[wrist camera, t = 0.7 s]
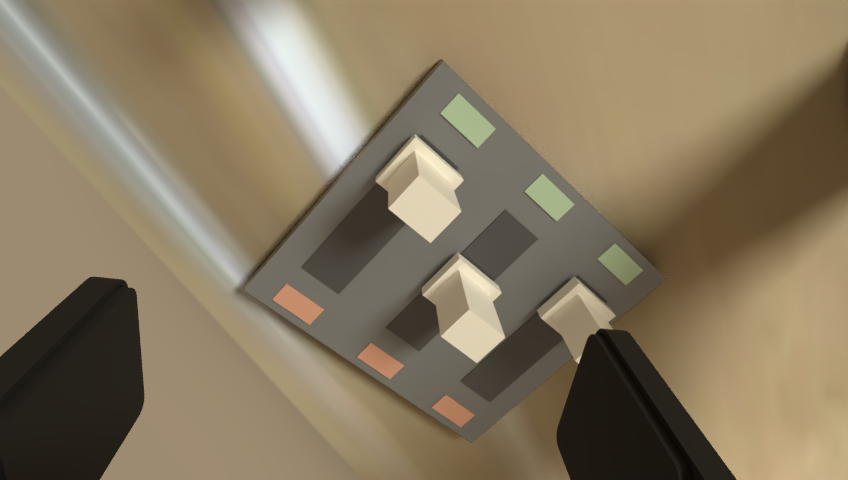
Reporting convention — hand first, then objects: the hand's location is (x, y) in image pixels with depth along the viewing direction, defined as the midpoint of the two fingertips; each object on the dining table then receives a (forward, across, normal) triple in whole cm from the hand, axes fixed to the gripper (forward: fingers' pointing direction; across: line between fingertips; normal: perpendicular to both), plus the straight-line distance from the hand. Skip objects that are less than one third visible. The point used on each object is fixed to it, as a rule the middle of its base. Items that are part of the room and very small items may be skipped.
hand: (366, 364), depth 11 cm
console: (+24, -7, +10) cm, 27 cm away
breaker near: (+22, -3, +2) cm, 23 cm away
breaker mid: (+23, -7, +10) cm, 25 cm away
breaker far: (+23, -15, +11) cm, 29 cm away
